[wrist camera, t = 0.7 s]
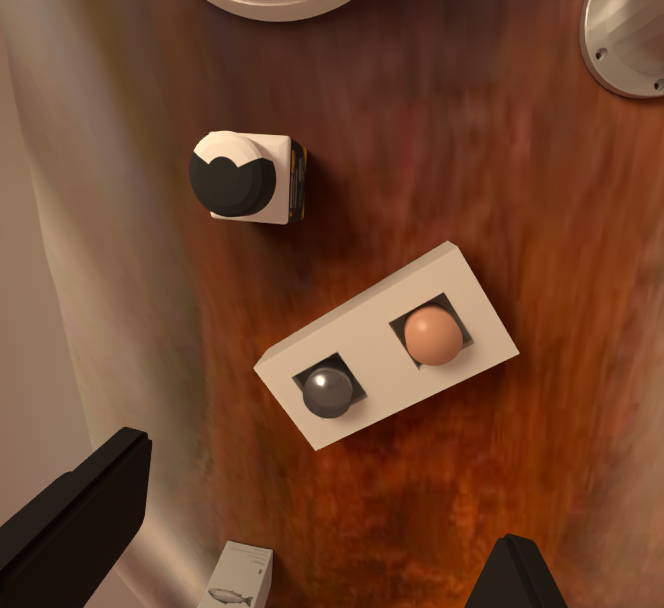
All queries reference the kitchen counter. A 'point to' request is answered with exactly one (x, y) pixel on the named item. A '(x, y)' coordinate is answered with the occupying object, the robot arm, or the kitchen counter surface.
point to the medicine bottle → (250, 177)
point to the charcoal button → (329, 388)
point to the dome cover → (278, 8)
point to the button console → (387, 346)
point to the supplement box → (239, 578)
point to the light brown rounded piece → (432, 334)
